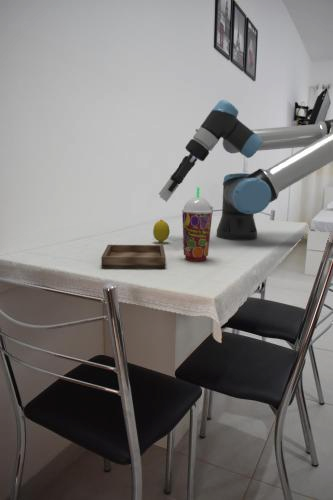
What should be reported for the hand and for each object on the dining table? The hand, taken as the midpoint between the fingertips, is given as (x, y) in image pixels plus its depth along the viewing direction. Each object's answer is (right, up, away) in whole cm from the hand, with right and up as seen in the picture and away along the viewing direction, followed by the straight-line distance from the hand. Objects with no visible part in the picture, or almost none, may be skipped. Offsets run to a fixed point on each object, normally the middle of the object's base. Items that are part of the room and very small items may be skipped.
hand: (162, 197), depth 130 cm
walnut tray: (-7, -20, -24) cm, 33 cm away
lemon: (0, -15, +3) cm, 15 cm away
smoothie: (+10, -20, -20) cm, 30 cm away
